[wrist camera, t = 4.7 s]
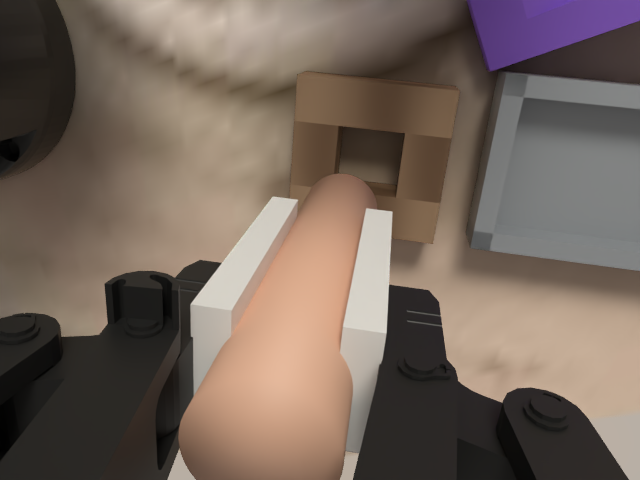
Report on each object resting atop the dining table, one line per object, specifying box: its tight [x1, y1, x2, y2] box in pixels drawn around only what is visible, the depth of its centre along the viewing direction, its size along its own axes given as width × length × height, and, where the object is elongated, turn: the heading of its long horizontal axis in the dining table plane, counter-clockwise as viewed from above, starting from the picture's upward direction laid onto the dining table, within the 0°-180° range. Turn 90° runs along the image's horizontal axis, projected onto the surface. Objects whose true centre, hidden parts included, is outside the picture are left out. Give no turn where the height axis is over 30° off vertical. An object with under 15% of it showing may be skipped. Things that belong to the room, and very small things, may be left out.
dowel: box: [178, 174, 377, 480], centre depth 14 cm, size 3×3×12 cm
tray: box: [466, 70, 640, 271], centre depth 27 cm, size 14×9×2 cm, turn 85°
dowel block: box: [289, 71, 460, 244], centre depth 29 cm, size 8×8×2 cm
